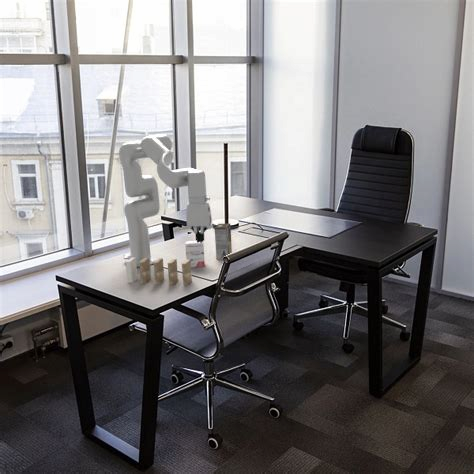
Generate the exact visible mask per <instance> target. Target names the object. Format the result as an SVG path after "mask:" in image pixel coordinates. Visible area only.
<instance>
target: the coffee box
mask: <svg viewBox="0 0 474 474" xmlns="http://www.w3.org/2000/svg"><path fill="white" fill-rule="evenodd" d="M231 229H232V228H231V223H217V225H216V226H215V227H214V242H215V257H216V258H215V259H216V260H223V259H222V258H223V257H224V256H226V255H228V254H230V253H232V254H233V250H232V247H233V245H232V233H231V231H232V230H231Z"/></svg>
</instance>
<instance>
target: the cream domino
mask: <svg viewBox="0 0 474 474" xmlns="http://www.w3.org/2000/svg"><path fill="white" fill-rule="evenodd" d="M125 264H126V275H127V283H128V284H133V283H134V282H136V280H137V279H138V269H137V268H138V267H136V257H131V258H130V259H126V261H125Z"/></svg>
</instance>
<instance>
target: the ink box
mask: <svg viewBox="0 0 474 474" xmlns="http://www.w3.org/2000/svg"><path fill="white" fill-rule="evenodd" d="M184 244H185V257H186V258H185V260H186V259H191V268H198V267H201V268H202V267H205V265H206V263H205V262H206V261H205V249H204V247H205V246H204V241H203V242H202V243H200V242H199V243H197V240H191V241H189V240H188V241H185V243H184Z"/></svg>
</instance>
